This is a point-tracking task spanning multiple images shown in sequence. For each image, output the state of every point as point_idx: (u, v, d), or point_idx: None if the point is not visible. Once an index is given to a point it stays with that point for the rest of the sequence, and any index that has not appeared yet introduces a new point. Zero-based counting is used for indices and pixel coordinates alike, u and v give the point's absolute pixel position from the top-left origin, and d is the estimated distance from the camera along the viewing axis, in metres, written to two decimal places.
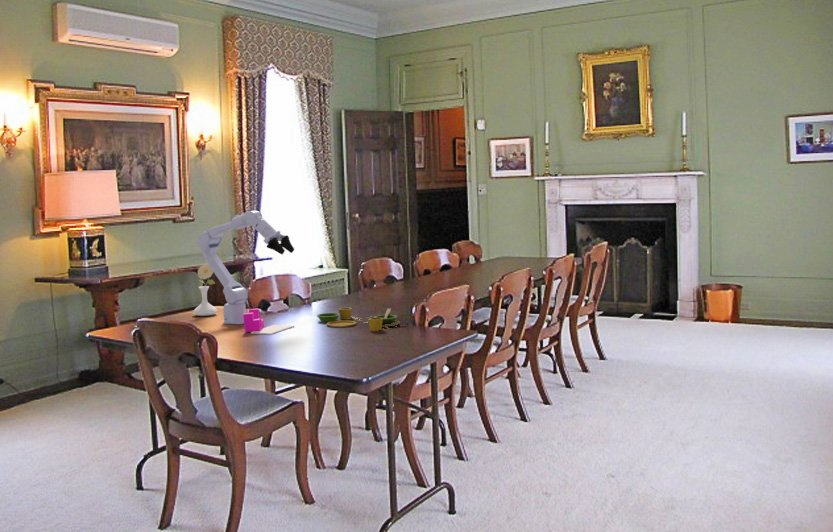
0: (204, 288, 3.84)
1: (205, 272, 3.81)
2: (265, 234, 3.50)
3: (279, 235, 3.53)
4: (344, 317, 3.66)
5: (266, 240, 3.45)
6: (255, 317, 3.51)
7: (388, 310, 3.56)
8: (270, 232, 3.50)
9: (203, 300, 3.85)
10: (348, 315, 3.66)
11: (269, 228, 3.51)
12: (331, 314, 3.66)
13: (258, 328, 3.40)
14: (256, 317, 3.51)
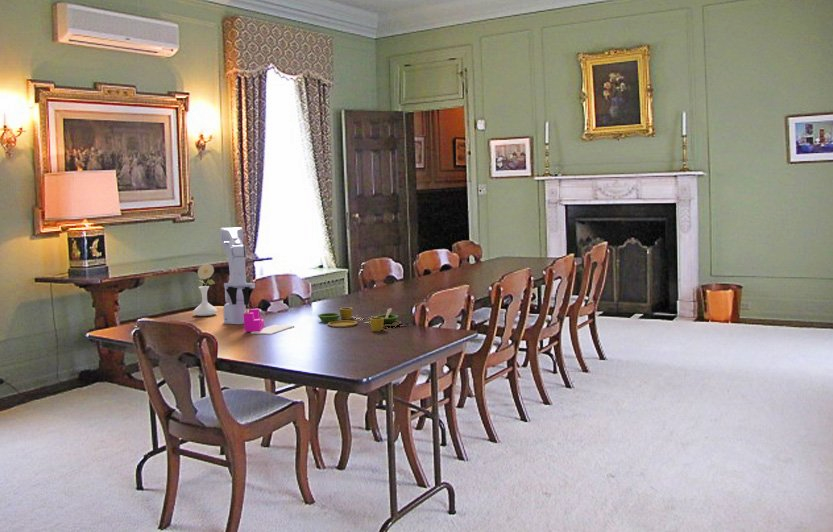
0: (204, 288, 3.84)
1: (205, 272, 3.81)
2: None
3: (240, 285, 3.46)
4: (345, 317, 3.66)
5: None
6: (255, 317, 3.51)
7: (389, 310, 3.56)
8: (232, 279, 3.47)
9: (203, 300, 3.85)
10: (349, 315, 3.66)
11: (232, 275, 3.46)
12: (332, 314, 3.67)
13: (258, 328, 3.40)
14: (256, 317, 3.51)
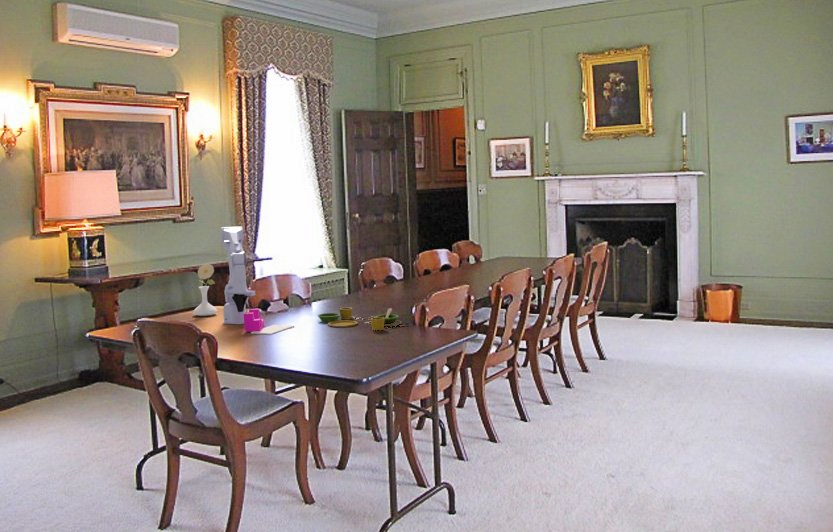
0: (204, 288, 3.84)
1: (205, 272, 3.81)
2: None
3: (240, 293, 3.46)
4: (345, 317, 3.66)
5: None
6: (255, 317, 3.51)
7: (389, 310, 3.57)
8: (232, 286, 3.48)
9: (203, 300, 3.85)
10: (349, 315, 3.67)
11: (233, 283, 3.47)
12: (332, 314, 3.67)
13: (258, 328, 3.40)
14: (256, 317, 3.51)
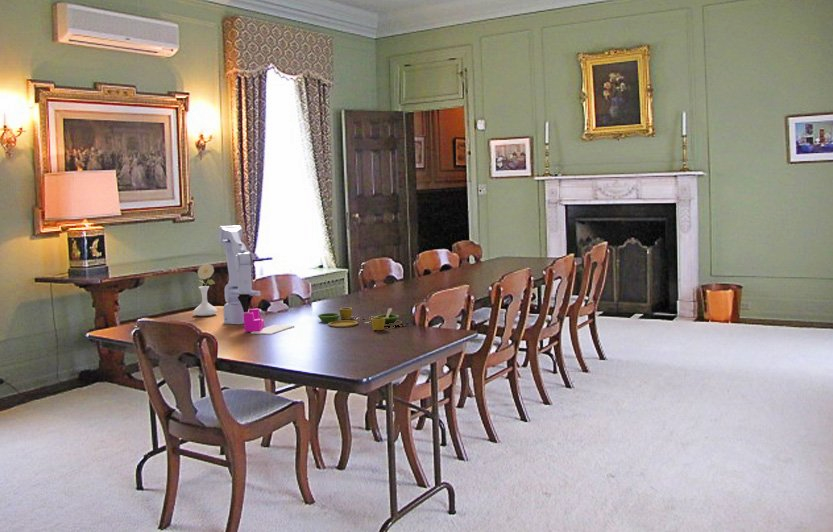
0: (204, 288, 3.84)
1: (205, 272, 3.81)
2: None
3: None
4: (345, 317, 3.66)
5: None
6: (255, 317, 3.51)
7: (389, 310, 3.57)
8: (238, 287, 3.47)
9: (203, 300, 3.85)
10: (349, 315, 3.67)
11: (238, 283, 3.46)
12: (332, 314, 3.66)
13: (258, 328, 3.40)
14: (256, 317, 3.51)
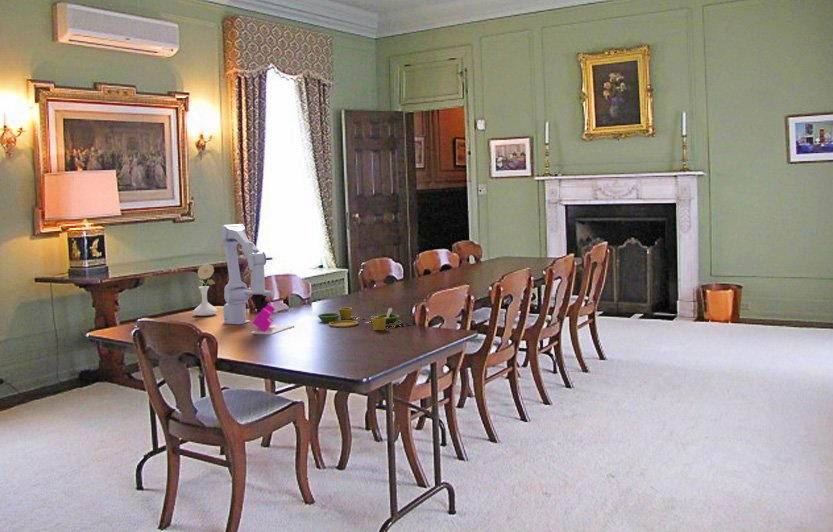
0: (204, 288, 3.84)
1: (205, 272, 3.81)
2: None
3: None
4: (345, 317, 3.66)
5: None
6: None
7: (389, 310, 3.57)
8: (251, 287, 3.44)
9: (203, 300, 3.85)
10: (349, 315, 3.67)
11: (251, 283, 3.43)
12: (331, 314, 3.66)
13: (264, 329, 3.38)
14: (268, 314, 3.49)
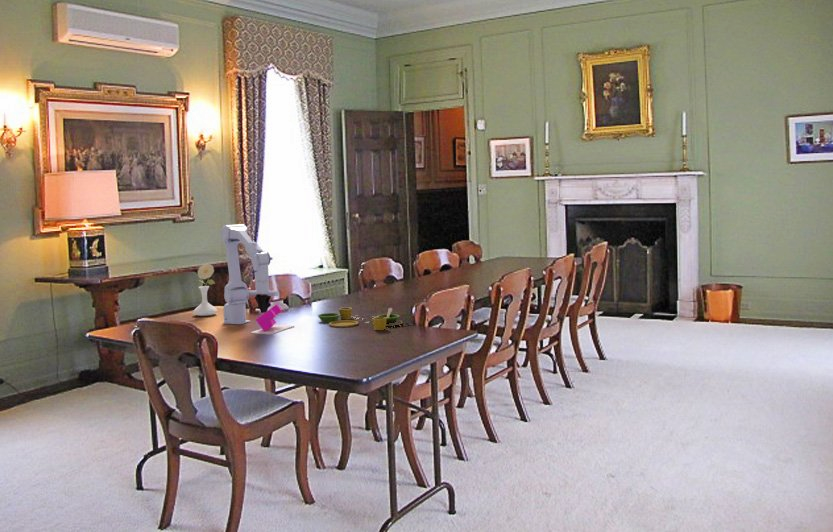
0: (204, 288, 3.84)
1: (205, 272, 3.81)
2: None
3: (263, 293, 3.42)
4: (344, 317, 3.66)
5: None
6: None
7: (390, 309, 3.57)
8: (255, 287, 3.43)
9: (203, 300, 3.85)
10: (348, 315, 3.67)
11: (255, 283, 3.42)
12: (331, 314, 3.66)
13: (265, 329, 3.38)
14: None
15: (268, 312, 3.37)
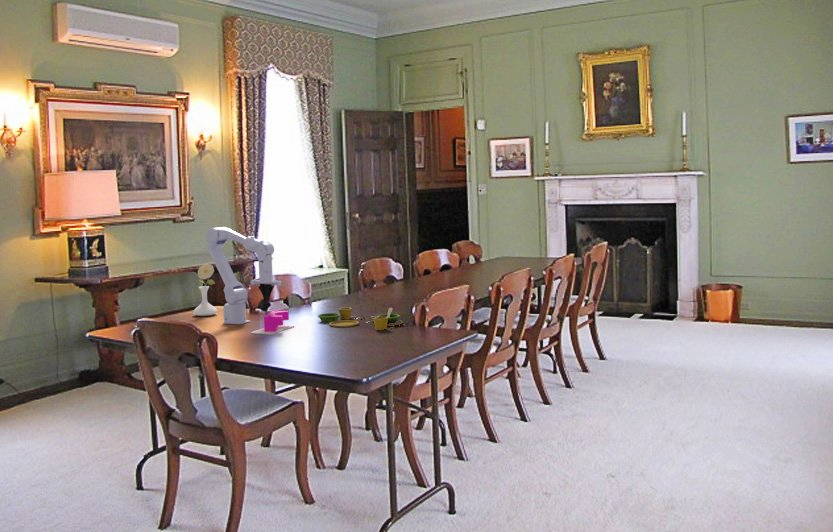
0: (204, 288, 3.84)
1: (205, 272, 3.81)
2: None
3: None
4: (344, 317, 3.66)
5: None
6: None
7: (390, 309, 3.58)
8: (259, 276, 3.55)
9: (203, 300, 3.85)
10: (348, 315, 3.67)
11: (259, 273, 3.54)
12: (331, 314, 3.66)
13: (266, 330, 3.38)
14: None
15: (278, 318, 3.37)
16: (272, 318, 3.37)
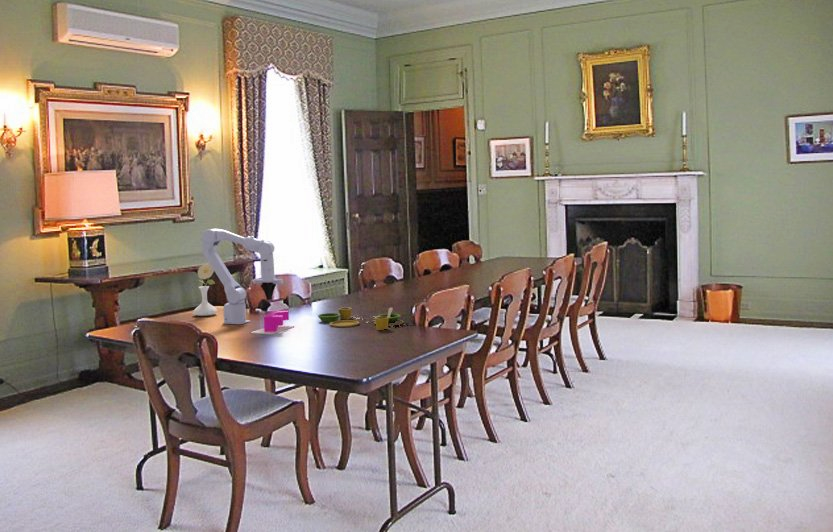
0: (204, 288, 3.84)
1: (205, 272, 3.81)
2: None
3: (269, 281, 3.58)
4: (344, 317, 3.66)
5: None
6: None
7: (390, 309, 3.58)
8: (261, 275, 3.59)
9: (203, 300, 3.85)
10: (348, 315, 3.67)
11: (261, 271, 3.58)
12: (331, 314, 3.66)
13: (266, 330, 3.38)
14: None
15: (278, 318, 3.37)
16: (272, 318, 3.37)
